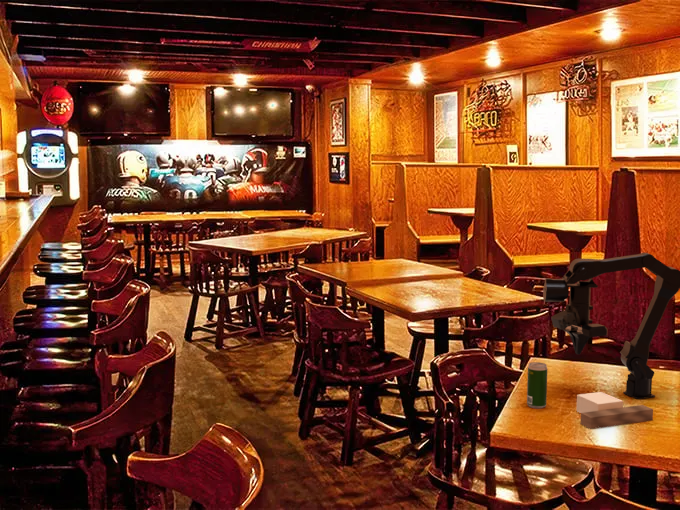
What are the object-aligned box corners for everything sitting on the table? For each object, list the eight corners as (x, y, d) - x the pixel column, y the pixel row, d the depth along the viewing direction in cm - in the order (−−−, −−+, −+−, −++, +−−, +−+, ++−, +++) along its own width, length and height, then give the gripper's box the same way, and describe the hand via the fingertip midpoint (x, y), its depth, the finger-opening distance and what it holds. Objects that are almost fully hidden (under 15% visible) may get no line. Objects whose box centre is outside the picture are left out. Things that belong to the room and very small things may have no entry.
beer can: (537, 410, 213) (538, 367, 212) (522, 405, 217) (523, 363, 216) (550, 406, 216) (551, 365, 215) (535, 401, 220) (537, 361, 219)
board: (642, 415, 208) (642, 404, 208) (652, 420, 204) (653, 409, 204) (580, 424, 202) (580, 412, 201) (590, 428, 198) (590, 417, 197)
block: (600, 409, 215) (601, 391, 214) (622, 419, 206) (623, 401, 206) (576, 412, 212) (577, 394, 211) (597, 422, 203) (598, 404, 203)
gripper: (537, 298, 231) (536, 349, 233) (576, 309, 214) (574, 364, 216) (568, 296, 235) (567, 346, 237) (609, 306, 217) (607, 360, 219)
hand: (577, 354), depth 227 cm, fingers closed
